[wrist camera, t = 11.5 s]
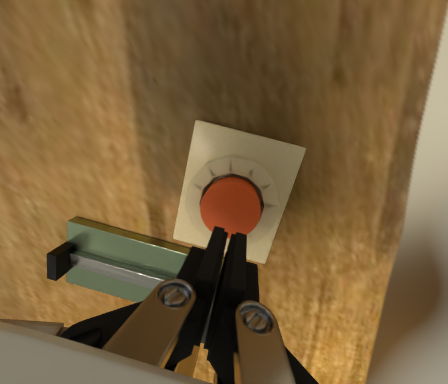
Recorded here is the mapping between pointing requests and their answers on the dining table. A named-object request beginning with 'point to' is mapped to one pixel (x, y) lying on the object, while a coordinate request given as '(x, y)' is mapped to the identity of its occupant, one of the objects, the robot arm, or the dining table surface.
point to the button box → (242, 168)
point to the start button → (231, 206)
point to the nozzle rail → (114, 260)
